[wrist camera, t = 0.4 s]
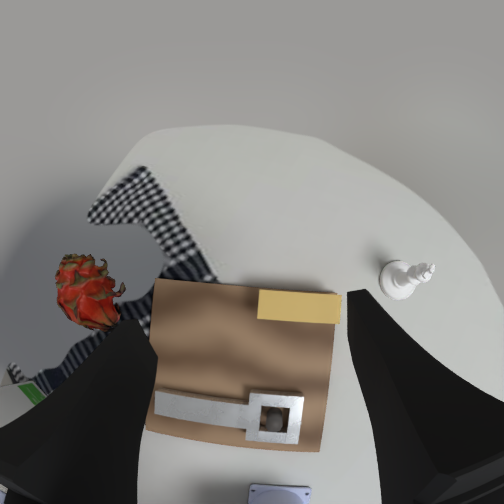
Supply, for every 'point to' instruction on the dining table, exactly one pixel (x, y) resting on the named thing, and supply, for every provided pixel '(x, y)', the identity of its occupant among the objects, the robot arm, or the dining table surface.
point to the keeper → (299, 307)
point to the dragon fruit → (87, 292)
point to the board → (237, 360)
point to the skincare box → (18, 400)
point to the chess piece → (403, 278)
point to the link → (234, 411)
